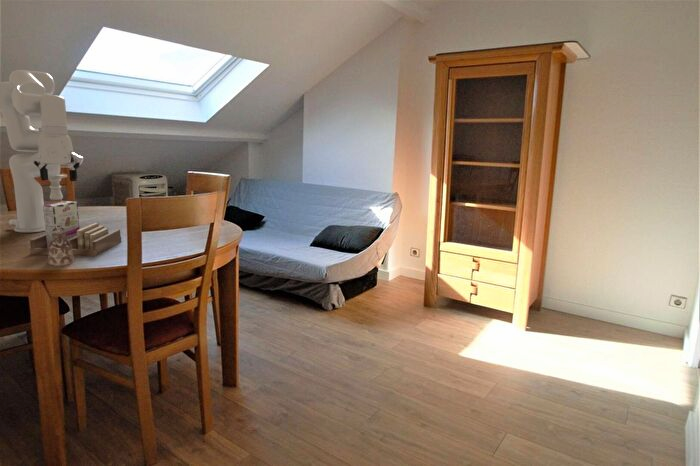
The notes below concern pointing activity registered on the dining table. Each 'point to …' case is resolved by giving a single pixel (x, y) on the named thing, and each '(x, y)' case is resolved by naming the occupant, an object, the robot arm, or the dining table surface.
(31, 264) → the dining table surface
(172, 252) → the dining table surface
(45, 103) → the robot arm
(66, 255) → the figurine
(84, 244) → the offcuts
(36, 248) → the rack
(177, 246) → the dining table surface
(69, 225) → the candy bar box
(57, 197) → the candle holder
